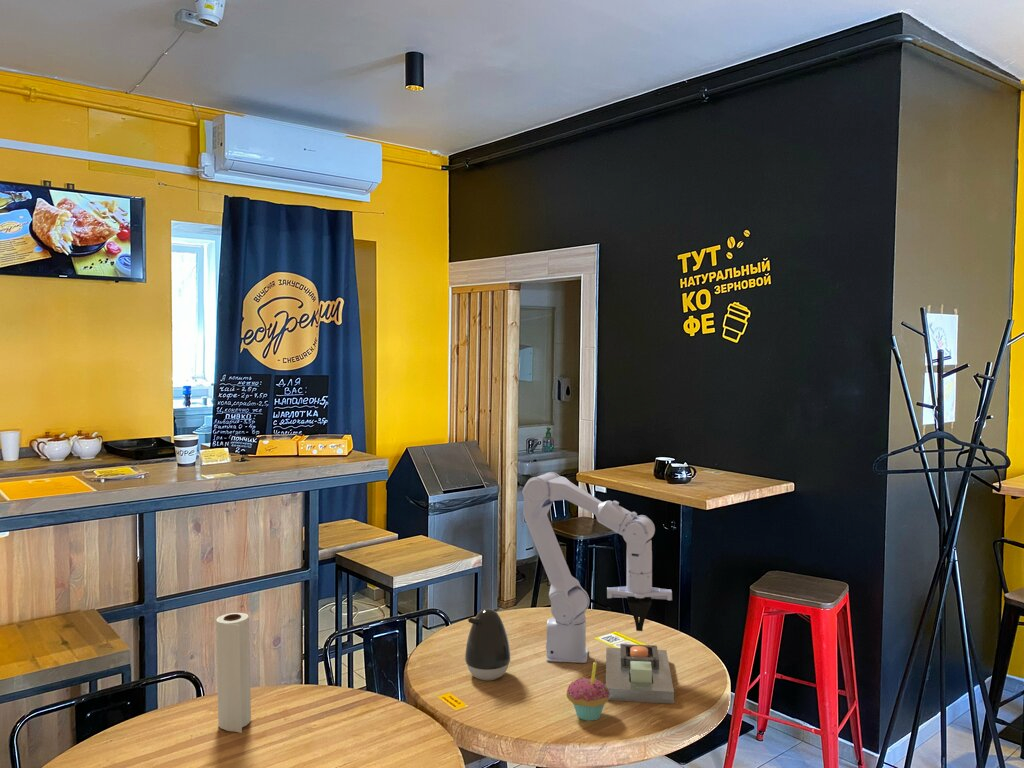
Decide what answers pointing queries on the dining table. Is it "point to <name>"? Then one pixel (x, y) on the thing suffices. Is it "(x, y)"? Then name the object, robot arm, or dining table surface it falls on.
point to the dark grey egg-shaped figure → (487, 646)
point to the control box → (638, 692)
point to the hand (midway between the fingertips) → (639, 629)
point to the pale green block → (640, 672)
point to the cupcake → (588, 696)
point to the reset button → (638, 651)
